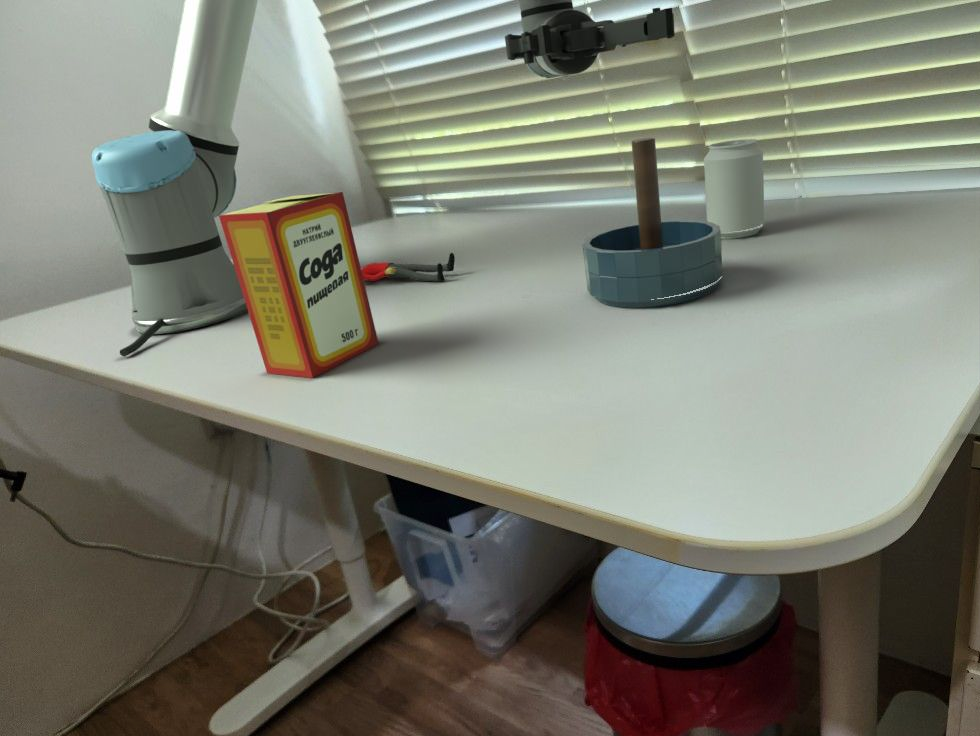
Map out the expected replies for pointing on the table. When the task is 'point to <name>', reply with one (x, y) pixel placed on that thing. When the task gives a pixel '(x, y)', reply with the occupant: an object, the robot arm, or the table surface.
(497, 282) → the table surface
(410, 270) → the person figure
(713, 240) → the bowl
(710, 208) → the can
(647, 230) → the muddler
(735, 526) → the table surface
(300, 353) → the baking soda box
